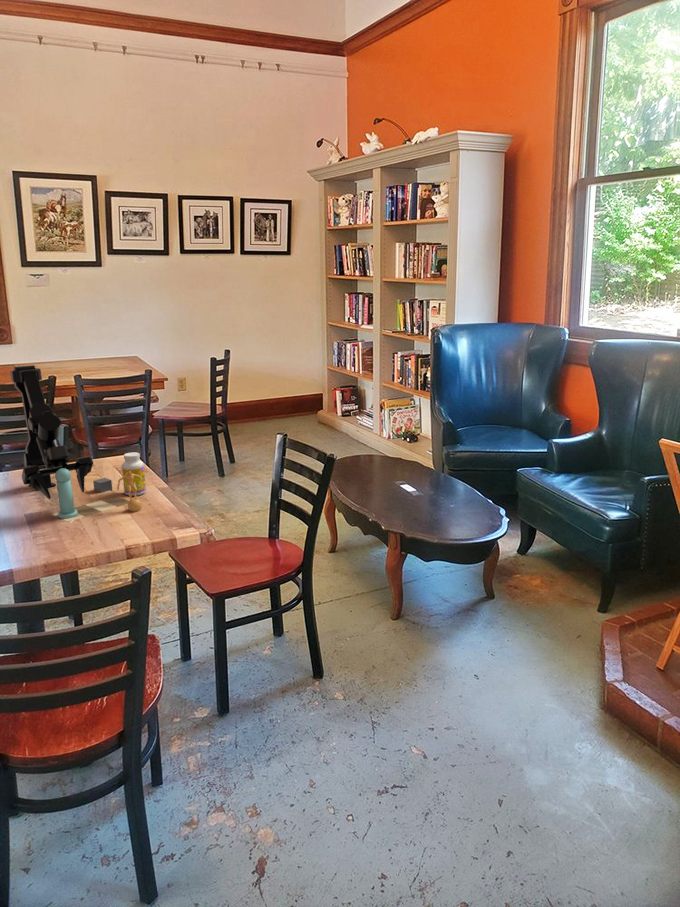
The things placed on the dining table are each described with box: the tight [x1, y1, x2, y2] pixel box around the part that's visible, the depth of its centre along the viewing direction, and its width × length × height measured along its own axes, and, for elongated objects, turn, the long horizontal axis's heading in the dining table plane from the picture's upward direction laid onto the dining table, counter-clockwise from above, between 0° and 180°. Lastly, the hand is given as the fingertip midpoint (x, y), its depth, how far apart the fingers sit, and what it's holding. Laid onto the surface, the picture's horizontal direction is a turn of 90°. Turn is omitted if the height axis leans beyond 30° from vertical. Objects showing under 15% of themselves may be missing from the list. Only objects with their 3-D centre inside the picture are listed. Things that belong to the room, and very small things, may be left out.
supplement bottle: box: [121, 451, 147, 497], centre depth 215 cm, size 7×7×13 cm
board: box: [51, 495, 130, 523], centre depth 202 cm, size 10×21×1 cm, turn 139°
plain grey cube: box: [92, 477, 113, 494], centre depth 217 cm, size 4×4×4 cm
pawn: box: [54, 468, 78, 520], centre depth 194 cm, size 5×5×14 cm
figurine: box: [116, 471, 147, 513], centre depth 199 cm, size 8×6×12 cm
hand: (66, 495), depth 193 cm, fingers open, 9 cm apart
